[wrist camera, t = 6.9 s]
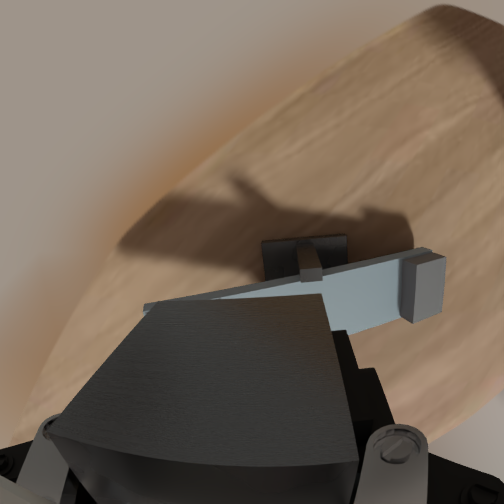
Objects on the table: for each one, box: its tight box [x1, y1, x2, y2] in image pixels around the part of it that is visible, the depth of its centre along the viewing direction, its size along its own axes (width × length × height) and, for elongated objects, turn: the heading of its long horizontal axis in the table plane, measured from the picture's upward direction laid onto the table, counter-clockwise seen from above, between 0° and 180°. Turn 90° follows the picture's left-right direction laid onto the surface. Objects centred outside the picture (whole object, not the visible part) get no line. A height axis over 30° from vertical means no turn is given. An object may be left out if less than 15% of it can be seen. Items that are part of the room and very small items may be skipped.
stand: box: [261, 234, 348, 283], centre depth 28 cm, size 8×10×8 cm
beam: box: [143, 247, 446, 335], centre depth 25 cm, size 26×6×4 cm, turn 96°
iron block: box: [46, 293, 359, 504], centre depth 7 cm, size 5×5×6 cm
